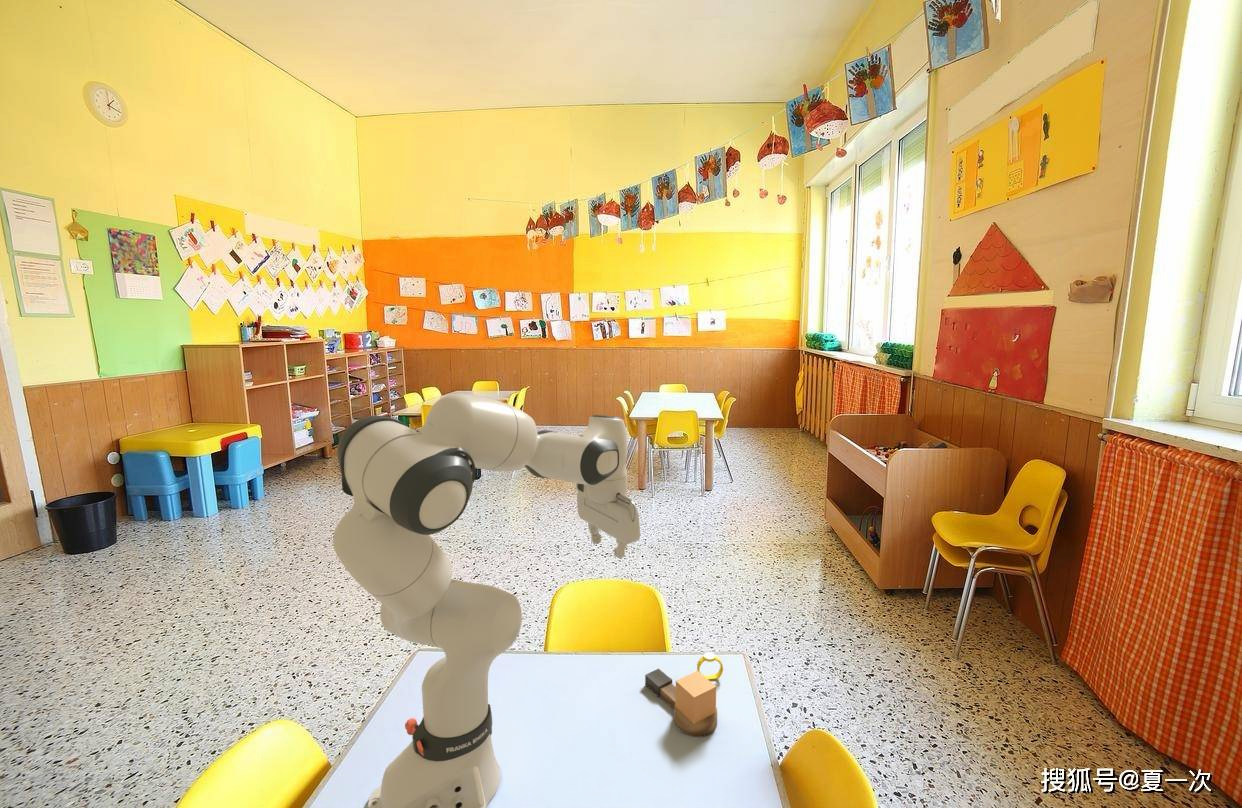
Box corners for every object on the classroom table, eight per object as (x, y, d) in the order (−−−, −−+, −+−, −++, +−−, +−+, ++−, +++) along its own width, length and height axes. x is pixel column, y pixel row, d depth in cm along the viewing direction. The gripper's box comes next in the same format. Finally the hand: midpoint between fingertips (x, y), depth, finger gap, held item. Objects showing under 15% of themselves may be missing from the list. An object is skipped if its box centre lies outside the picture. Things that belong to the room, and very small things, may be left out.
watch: (721, 674, 125) (721, 651, 124) (723, 682, 122) (724, 658, 122) (696, 675, 125) (696, 652, 124) (698, 682, 122) (698, 659, 121)
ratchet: (694, 743, 104) (694, 718, 104) (636, 689, 120) (636, 667, 119) (726, 724, 109) (726, 700, 109) (666, 674, 125) (666, 653, 124)
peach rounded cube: (715, 712, 109) (716, 686, 108) (693, 724, 106) (694, 697, 105) (696, 695, 114) (697, 670, 113) (675, 706, 111) (675, 680, 110)
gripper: (647, 498, 106) (647, 562, 108) (595, 476, 123) (595, 532, 124) (622, 503, 102) (622, 570, 104) (571, 480, 119) (572, 538, 121)
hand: (607, 549), depth 114 cm, fingers open, 8 cm apart
